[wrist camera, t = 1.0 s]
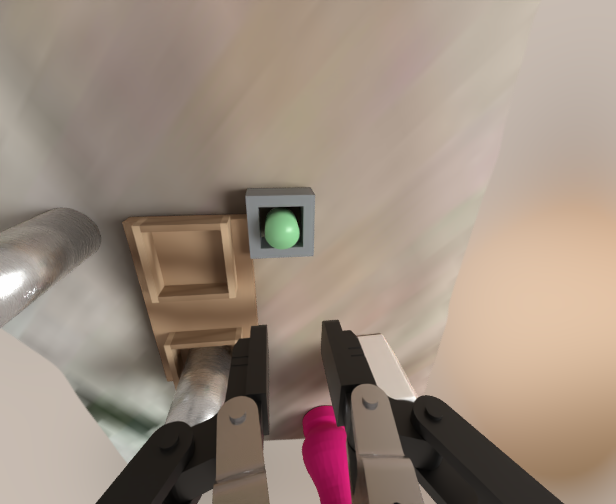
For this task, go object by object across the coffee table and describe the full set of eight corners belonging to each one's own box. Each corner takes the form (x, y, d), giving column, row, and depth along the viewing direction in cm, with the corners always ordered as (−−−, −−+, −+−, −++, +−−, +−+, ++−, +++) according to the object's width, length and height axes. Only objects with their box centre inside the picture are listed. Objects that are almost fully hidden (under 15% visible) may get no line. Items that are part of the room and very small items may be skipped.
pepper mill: (310, 439, 45) (338, 655, 27) (291, 414, 42) (308, 640, 24) (352, 423, 44) (409, 631, 27) (336, 396, 41) (388, 612, 23)
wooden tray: (128, 213, 26) (109, 226, 23) (249, 210, 28) (246, 222, 25) (171, 373, 35) (162, 398, 32) (261, 365, 37) (260, 388, 34)
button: (264, 207, 27) (263, 217, 24) (296, 206, 27) (299, 216, 24) (265, 236, 28) (265, 250, 25) (296, 236, 28) (299, 248, 26)
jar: (368, 386, 41) (404, 482, 30) (320, 371, 39) (341, 471, 28) (405, 342, 38) (459, 431, 28) (356, 323, 36) (393, 413, 25)
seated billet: (184, 340, 32) (147, 442, 22) (231, 337, 32) (214, 435, 22) (192, 373, 34) (161, 479, 24) (235, 369, 34) (222, 471, 25)
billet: (30, 208, 25) (-122, 269, 15) (91, 207, 26) (-17, 264, 16) (51, 258, 27) (-70, 339, 18) (107, 256, 28) (20, 333, 18)
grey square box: (247, 188, 27) (245, 196, 24) (310, 187, 28) (314, 194, 25) (252, 246, 29) (250, 258, 27) (309, 244, 30) (313, 256, 28)
